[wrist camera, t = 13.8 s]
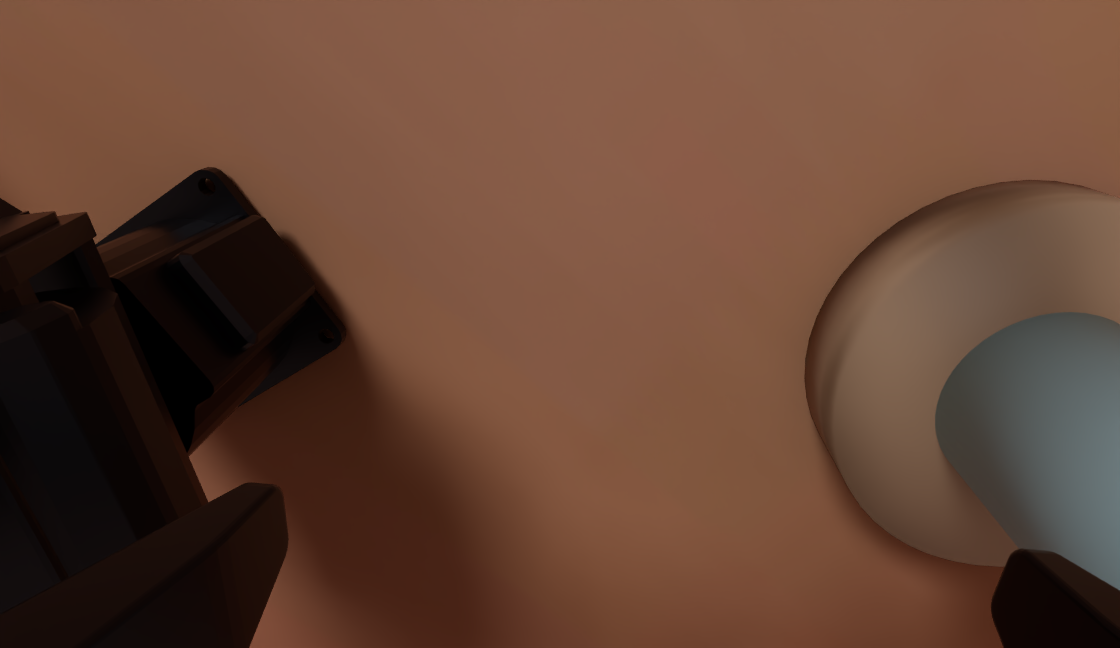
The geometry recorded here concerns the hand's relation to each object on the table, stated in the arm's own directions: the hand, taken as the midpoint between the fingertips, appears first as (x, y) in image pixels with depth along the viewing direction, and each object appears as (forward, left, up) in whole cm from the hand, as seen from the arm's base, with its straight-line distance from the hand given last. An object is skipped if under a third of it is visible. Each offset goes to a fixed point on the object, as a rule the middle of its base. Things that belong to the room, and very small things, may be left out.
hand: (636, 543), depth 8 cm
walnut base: (+8, -9, -13) cm, 18 cm away
